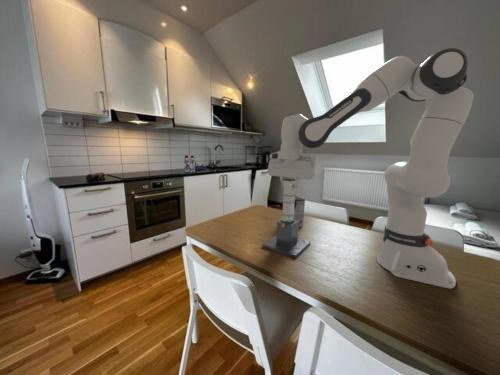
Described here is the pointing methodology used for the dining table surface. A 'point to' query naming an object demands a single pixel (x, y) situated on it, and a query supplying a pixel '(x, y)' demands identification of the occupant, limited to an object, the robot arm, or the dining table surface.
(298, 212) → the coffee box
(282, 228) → the stand base
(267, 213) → the dining table surface
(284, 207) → the column
